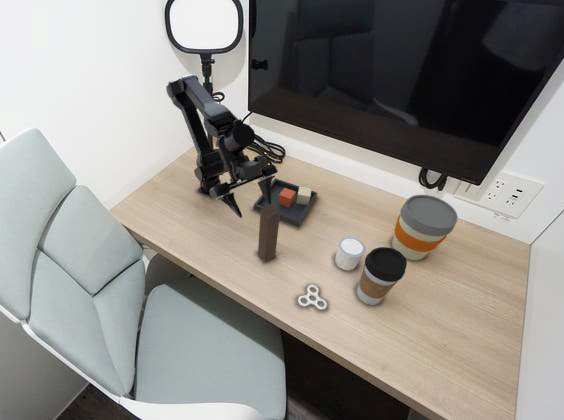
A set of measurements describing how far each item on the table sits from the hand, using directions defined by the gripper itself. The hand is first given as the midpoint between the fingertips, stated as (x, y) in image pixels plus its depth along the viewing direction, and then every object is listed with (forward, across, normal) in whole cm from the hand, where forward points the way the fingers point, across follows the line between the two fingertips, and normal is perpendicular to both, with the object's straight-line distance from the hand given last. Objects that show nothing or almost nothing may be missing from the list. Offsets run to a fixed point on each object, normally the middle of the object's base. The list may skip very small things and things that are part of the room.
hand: (255, 211), depth 84 cm
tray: (+3, +18, +14) cm, 23 cm away
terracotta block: (+3, +18, +14) cm, 23 cm away
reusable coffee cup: (+27, +36, -9) cm, 46 cm away
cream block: (+4, +23, +13) cm, 27 cm away
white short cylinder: (+23, +17, -5) cm, 29 cm away
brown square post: (+13, 0, +5) cm, 14 cm away
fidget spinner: (+25, +2, -7) cm, 26 cm away
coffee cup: (+30, +15, -12) cm, 36 cm away
